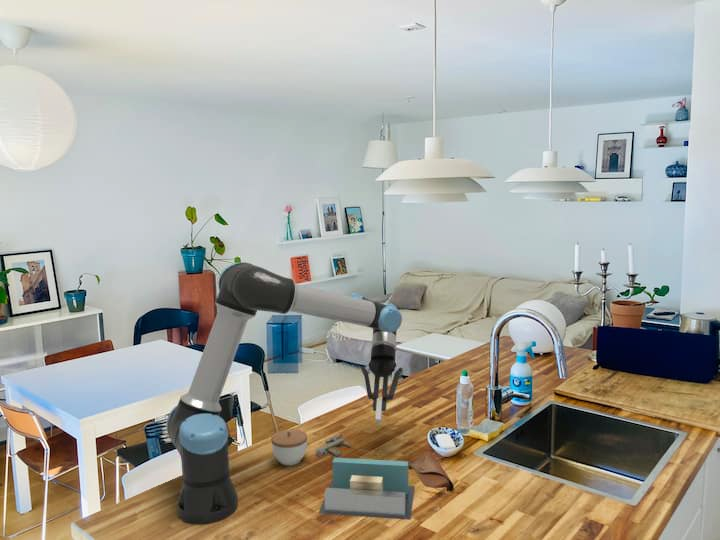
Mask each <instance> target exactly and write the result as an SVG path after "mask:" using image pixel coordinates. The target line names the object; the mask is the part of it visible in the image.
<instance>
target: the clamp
mask: <svg viewBox="0 0 720 540" xmlns="http://www.w3.org/2000/svg"><path fill="white" fill-rule="evenodd" d="M339 437H340V438H339ZM338 438H339V439H338ZM345 441H346V440H345V438H343V433H341V432H340V433H339V434H338V435H335V436H330V438H329V439H328V440H327V439H326V440H325V441H324V443H325V445H324V446H322V447H319V448H318V449H316V450H315V456H316V457H318V458H320V457H321V459H324V456H326V457H328V456H327V454H328V453H327V454H326V452H329V453H331V454H332V455H333V456H335V457H339V456H341V451H339V450H337V449H339V448H340V446H347V447H352V444H349V443H348V442H345ZM330 442H331V443H330ZM337 445H339V446H337ZM334 446H337V447H336V448H337V449H335V450H332V449H330V448H332V447H334ZM338 447H339V448H338Z"/></svg>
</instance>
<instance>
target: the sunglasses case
mask: <svg viewBox="0 0 720 540" xmlns="http://www.w3.org/2000/svg"><path fill="white" fill-rule="evenodd" d="M408 469H410V470H414V471H415V473H416V475H417V476H418V478H419V481H421V483H422V485H423V486H425V487H427V488H430V489H431V488H432V489H441V488H442V489H443V488H446V492H453V491H454V488H455V487H454V483H453V481H452V480H451V479H450V478H449V476H448V474H447V472H445V469H444V468H443V467H442V465H441V464H440V462H439V461H438V460H437V459H436V458H435V456H434V455H433V454H432V453H431V452H430V451H428V453H426V454H425V455H424V456H421V457H420V458H417V459H416V460H415V461H413V462H411V463H408Z"/></svg>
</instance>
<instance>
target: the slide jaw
mask: <svg viewBox="0 0 720 540" xmlns="http://www.w3.org/2000/svg"><path fill="white" fill-rule="evenodd" d="M331 463H332V467H331V468H332V481H333V488H340V489H350V479H351V476H352V475H357V476H375V477H383V491H390V492H405V495H408V491H409V486H410V484H409V483H410V482H409V476H410V475H409V467H408V465H409V461H405V460H404V461H403V460H387V459H369V458H368V459H367V458H350V457H349V458H347V457H346V458H345V457H334V458H333V460H332V461H331Z"/></svg>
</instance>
